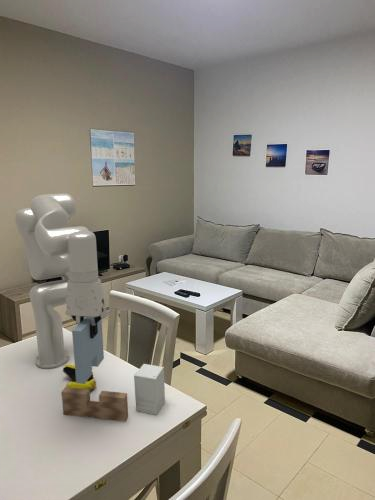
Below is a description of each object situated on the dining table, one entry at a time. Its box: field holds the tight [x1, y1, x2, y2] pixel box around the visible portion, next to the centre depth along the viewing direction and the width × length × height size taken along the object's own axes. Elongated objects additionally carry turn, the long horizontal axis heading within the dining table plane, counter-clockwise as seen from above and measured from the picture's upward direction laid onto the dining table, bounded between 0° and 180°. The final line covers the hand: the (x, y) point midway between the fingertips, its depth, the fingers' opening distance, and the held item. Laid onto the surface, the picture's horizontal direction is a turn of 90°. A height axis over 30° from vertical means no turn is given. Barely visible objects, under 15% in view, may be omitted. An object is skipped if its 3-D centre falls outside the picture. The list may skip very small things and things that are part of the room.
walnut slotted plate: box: [61, 386, 129, 422], centre depth 116 cm, size 20×2×8 cm, turn 81°
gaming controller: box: [62, 363, 97, 392], centre depth 132 cm, size 15×6×10 cm
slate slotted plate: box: [71, 317, 105, 384], centre depth 111 cm, size 14×2×16 cm, turn 170°
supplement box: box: [133, 363, 166, 416], centre depth 120 cm, size 7×7×13 cm
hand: (88, 335), depth 110 cm, fingers closed on slate slotted plate, 2 cm apart
